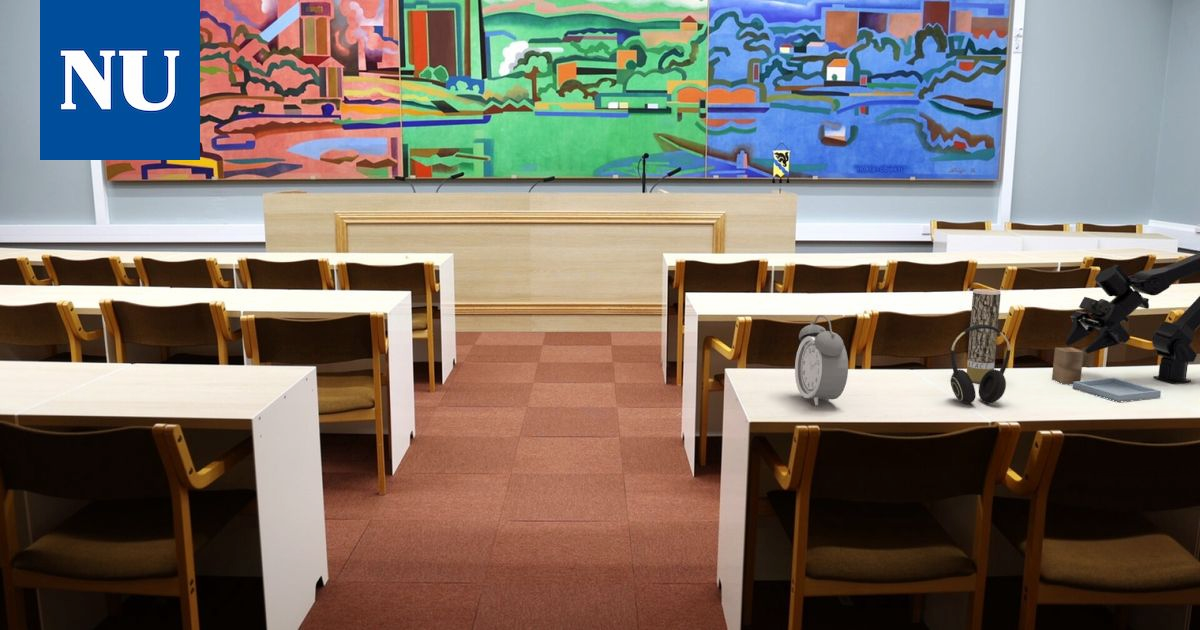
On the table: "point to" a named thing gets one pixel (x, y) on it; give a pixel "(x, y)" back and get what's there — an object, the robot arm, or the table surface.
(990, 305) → the paper tube
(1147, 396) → the tray
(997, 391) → the headphones
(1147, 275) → the robot arm
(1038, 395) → the table surface
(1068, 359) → the walnut block
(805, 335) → the alarm clock
